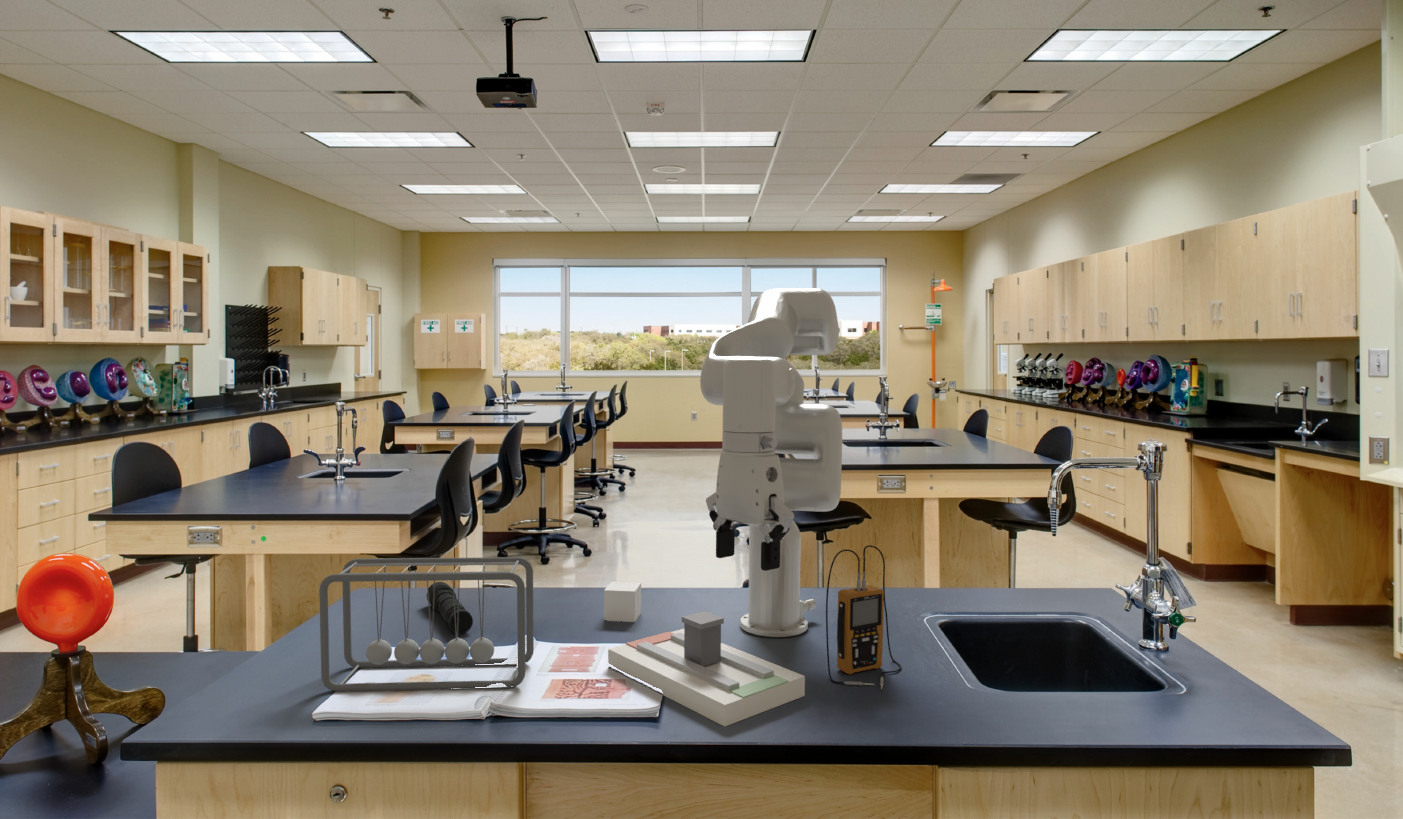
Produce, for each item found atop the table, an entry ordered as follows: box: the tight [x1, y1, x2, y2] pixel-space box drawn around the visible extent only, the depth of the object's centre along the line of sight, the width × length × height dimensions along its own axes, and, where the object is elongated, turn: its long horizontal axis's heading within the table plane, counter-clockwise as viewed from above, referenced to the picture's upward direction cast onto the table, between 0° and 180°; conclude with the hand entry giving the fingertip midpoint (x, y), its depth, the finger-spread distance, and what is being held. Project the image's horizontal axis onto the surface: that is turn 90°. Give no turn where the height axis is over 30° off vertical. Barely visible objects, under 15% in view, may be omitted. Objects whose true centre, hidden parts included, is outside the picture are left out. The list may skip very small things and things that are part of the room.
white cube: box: [603, 581, 642, 623], centre depth 160 cm, size 6×6×6 cm
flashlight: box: [426, 581, 474, 635], centre depth 158 cm, size 5×21×5 cm, turn 28°
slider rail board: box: [607, 628, 806, 727], centre depth 128 cm, size 16×28×4 cm, turn 41°
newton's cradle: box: [318, 556, 535, 693], centre depth 129 cm, size 30×10×18 cm, turn 94°
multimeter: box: [825, 545, 902, 690], centre depth 130 cm, size 15×10×20 cm
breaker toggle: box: [681, 610, 725, 667], centre depth 128 cm, size 5×5×7 cm
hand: (747, 562), depth 119 cm, fingers open, 9 cm apart
